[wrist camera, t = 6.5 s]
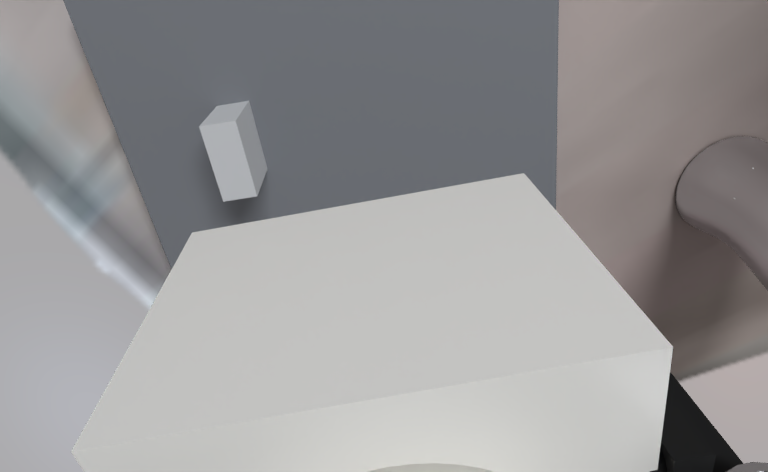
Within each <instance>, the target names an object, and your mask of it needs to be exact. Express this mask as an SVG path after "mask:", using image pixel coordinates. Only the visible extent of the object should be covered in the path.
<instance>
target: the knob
mask: <svg viewBox="0 0 768 472" xmlns="http://www.w3.org/2000/svg"><path fill="white" fill-rule="evenodd" d="M672 352H673V346H672V345H671V344H670V343H669V341H668V340H667V339H666V338H665V337H664V336H663V335H662V333H661V332H660V331H659V330H658V329H657V328H656V326H655V325H654V324H653V323H652V322H651V321H650V319H649V318H648V317H647V316H646V315H645V314H644V312H643V311H642V310H641V309H640V308H639V307H638V305H637V304H636V303H635V302H634V301H633V300H632V298H631V297H630V296H629V295H628V294H627V293H626V291H625V290H624V289H623V288H622V287H621V286H620V284H619V283H618V282H617V281H616V280H615V279H614V277H613V276H612V275H611V274H610V273H609V272H608V270H607V269H606V268H605V267H604V266H603V265H602V263H601V262H600V261H599V260H598V259H597V258H596V256H595V255H594V254H593V253H592V252H591V251H590V249H589V248H588V247H587V246H586V245H585V244H584V242H583V241H582V240H581V239H580V238H579V237H578V235H577V234H576V233H575V232H574V231H573V230H572V228H571V227H570V226H569V225H568V224H567V223H566V221H565V220H564V219H563V218H562V217H561V216H560V214H559V213H558V212H557V211H556V210H555V209H554V207H553V206H552V205H551V204H550V203H549V202H548V200H547V199H546V198H545V197H544V196H543V195H542V193H541V192H540V191H539V190H538V189H537V188H536V186H535V185H534V184H533V183H532V182H531V181H530V179H529V178H528V177H527V176H526V175H525V174H524V173H522V174H516V175H511V176H505V177H499V178H494V179H488V180H483V181H477V182H472V183H466V184H460V185H455V186H449V187H444V188H438V189H432V190H427V191H421V192H416V193H410V194H405V195H399V196H393V197H388V198H382V199H377V200H371V201H366V202H360V203H354V204H349V205H343V206H338V207H332V208H326V209H321V210H315V211H310V212H304V213H299V214H293V215H287V216H282V217H276V218H271V219H265V220H260V221H254V222H248V223H243V224H237V225H232V226H226V227H220V228H215V229H209V230H204V231H198V232H193V233H191V235H190V237H189V239H188V241H187V243H186V244H185V246H184V248H183V250H182V252H181V253H180V255H179V257H178V259H177V261H176V262H175V264H174V266H173V268H172V270H171V272H170V273H169V275H168V277H167V279H166V281H165V282H164V284H163V286H162V288H161V290H160V291H159V293H158V295H157V297H156V299H155V301H154V302H153V304H152V306H151V308H150V310H149V311H148V313H147V315H146V317H145V319H144V321H143V322H142V324H141V326H140V328H139V330H138V331H137V333H136V335H135V337H134V339H133V340H132V342H131V344H130V346H129V348H128V350H127V351H126V353H125V355H124V357H123V359H122V360H121V362H120V364H119V366H118V368H117V370H116V371H115V373H114V375H113V377H112V379H111V380H110V382H109V384H108V386H107V388H106V390H105V391H104V393H103V395H102V397H101V398H100V400H99V402H98V404H97V406H96V408H95V409H94V411H93V413H92V415H91V417H90V418H89V420H88V422H87V424H86V426H85V428H84V429H83V431H82V433H81V435H80V437H79V438H78V440H77V442H76V444H75V446H74V448H73V449H72V451H71V452H72V454H73V456H74V457H75V459H76V460H77V461H78V463H79V465H80V466H81V468H82V469H83V471H84V472H650V471H654V470H658V462H659V454H660V446H661V439H662V431H663V423H664V415H665V407H666V399H667V392H668V384H669V376H670V368H671V360H672Z"/></svg>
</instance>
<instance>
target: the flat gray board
mask: <svg viewBox="0 0 768 472" xmlns="http://www.w3.org/2000/svg"><path fill="white" fill-rule="evenodd" d="M63 1H64V3H65V6H66V8H67V11H68V13H69V15H70V18H71V20H72V23H73V25H74V28H75V30H76V33H77V35H78V38H79V40H80V43H81V45H82V48H83V50H84V53H85V55H86V58H87V60H88V63H89V65H90V68H91V70H92V73H93V75H94V78H95V80H96V83H97V85H98V87H99V90H100V92H101V95H102V97H103V100H104V102H105V105H106V107H107V110H108V112H109V115H110V117H111V120H112V122H113V125H114V127H115V130H116V132H117V135H118V137H119V140H120V142H121V145H122V147H123V150H124V152H125V155H126V157H127V159H128V162H129V164H130V167H131V169H132V172H133V174H134V177H135V179H136V182H137V184H138V187H139V189H140V192H141V194H142V197H143V199H144V202H145V204H146V207H147V209H148V212H149V214H150V217H151V219H152V222H153V224H154V226H155V229H156V231H157V234H158V236H159V239H160V241H161V244H162V246H163V249H164V251H165V254H166V256H167V259H168V261H169V264H170V266H171V269H172V268H173V266H174V264H175V262H176V261H177V259H178V257H179V255H180V253H181V252H182V250H183V248H184V246H185V244H186V243H187V241H188V239H189V237H190V235H191V233H193V232H198V231H204V230H209V229H215V228H220V227H226V226H232V225H237V224H243V223H248V222H254V221H260V220H265V219H271V218H276V217H282V216H287V215H293V214H299V213H304V212H310V211H315V210H321V209H326V208H332V207H338V206H343V205H349V204H354V203H360V202H366V201H371V200H377V199H382V198H388V197H393V196H399V195H405V194H410V193H416V192H421V191H427V190H432V189H438V188H444V187H449V186H455V185H460V184H466V183H472V182H477V181H483V180H488V179H494V178H499V177H505V176H511V175H516V174H522V173H524V174H525V175H526V176H527V177H528V178H529V179H530V181H531V182H532V183H533V184H534V185H535V186H536V188H537V189H538V190H539V191H540V192H541V193H542V195H543V196H544V197H545V198H546V199H547V200H548V202H549V203H550V204H551V205H552V206H553V207H554V209H555V210H556V159H557V85H558V10H559V0H63Z"/></svg>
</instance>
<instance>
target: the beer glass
mask: <svg viewBox="0 0 768 472" xmlns="http://www.w3.org/2000/svg"><path fill="white" fill-rule="evenodd" d="M676 206H677V209H678V212H679V214H680V215H681V217H682V218H683V219H684V220H685V221H686V222H687V223H688V224H689V225H691V226H692V227H694V228H696V229H698V230H700V231H702V232H705V233H707V234H709V235H711V236H714V237H716V238H718V239H719V240H721V241H723V242H724V243H726V244H727V245H728V246H729V247H730V248H732V249H733V250H734V251H735V252H736V253H737V254H738V256H739V257H740V258H741V259H742V260H743V261H744V263H745V264H746V265H747V266H748V268H749V269H750V270H751V271H752V272H753V274H754V275H755V276H756V277H757V279H758V280H759V281H760V282H761V284H762V285H763V286H764V287H765V288H766V290H767V291H768V143H767V142H765V141H763V140H761V139H759V138H755V137H750V136H736V137H730V138H727V139H723V140H721V141H718V142H716V143H714V144H712V145H711V146H709V147H707V148H706V149H704V150H703V151H702V152H700V153H699V154H698V155H697V156H696V157H695V158H694V159H693V160H692V161H691V162H690V163H689V165H688V166H687V167H686V169H685V170H684V172H683V174H682V175H681V178H680V180H679V182H678V185H677V190H676Z"/></svg>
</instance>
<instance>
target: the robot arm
mask: <svg viewBox="0 0 768 472" xmlns="http://www.w3.org/2000/svg"><path fill="white" fill-rule="evenodd" d="M650 472H768V463H758V462H750V463H745V464H743V463H742V461H741V460H740V459H739V458H738V457H737V455H736V454H735V453H734V451H733V450H732V449H731V448H730V446H729V445H728V444H727V443H726V441H725V440H724V439H723V438H722V436H721V435H720V434H719V433H718V431H717V430H716V429H715V428H714V426H713V425H712V424H711V423H710V421H709V420H708V419H707V418H706V416H705V415H704V414H703V412H702V411H701V410H700V409H699V407H698V406H697V405H696V404H695V402H694V401H693V400H692V399H691V397H690V396H689V395H688V394H687V392H686V391H685V390H684V389H683V387H681V385H680V384H679V382H678V381H677V380H676V379H675V377H674V376H673V375H672V374H671V372H670V376H669V384H668V392H667V399H666V407H665V415H664V423H663V431H662V439H661V446H660V454H659V462H658V470H654V471H650Z"/></svg>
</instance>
